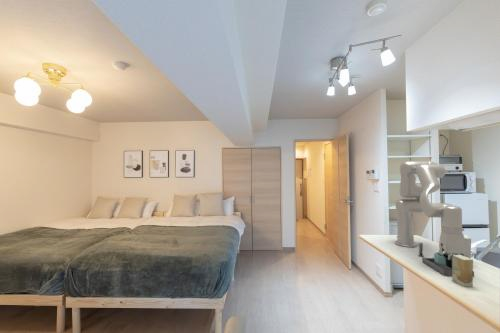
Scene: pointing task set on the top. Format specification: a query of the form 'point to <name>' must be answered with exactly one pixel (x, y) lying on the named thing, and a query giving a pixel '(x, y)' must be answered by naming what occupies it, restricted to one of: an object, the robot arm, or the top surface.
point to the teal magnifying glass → (441, 259)
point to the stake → (420, 250)
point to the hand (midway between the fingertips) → (452, 266)
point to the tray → (438, 267)
